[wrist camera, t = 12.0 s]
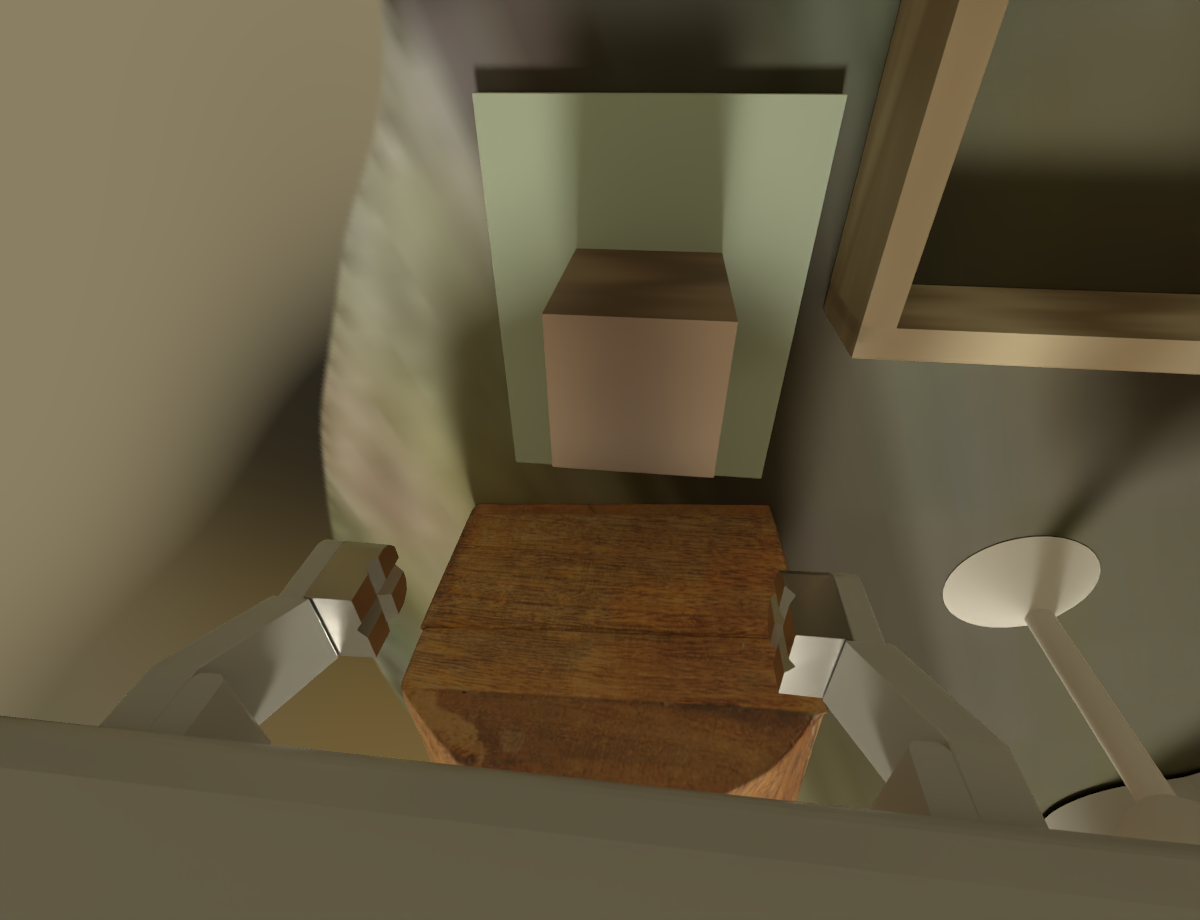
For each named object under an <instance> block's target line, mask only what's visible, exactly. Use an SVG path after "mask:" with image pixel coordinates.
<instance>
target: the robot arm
mask: <svg viewBox="0 0 1200 920" xmlns="http://www.w3.org/2000/svg"><path fill="white" fill-rule="evenodd" d="M398 558H399V557H398V554H397V552H396V549H395V547H394V546H391V545H385V544H374V543H363V542H352V541H337V540H324V541H322V542H320V543H319V544H318V545H317V546H316V547H315V549H314V550H313V551H312V553H311V554H310V555H309V557H308V558H307V559H306V561H305V562H304V563H303V565H302V566H301V567H300V568H299V570H298V571H297V573H296V574H295V575H294V576H293V578H292V579H291V580H290V582H289V583H288V584H287V586H286V587H285V588H284V589H283V591H282V592H281V593H280V595H279V596H271V597H269V598H268V599H266V600H264V601H262V602H261V603H259V604H257V605H255V606H254V607H252V608H250V609H249V610H247V611H245V612H243V613H242V614H240V615H238V616H237V617H235V618H233V619H231V620H230V621H228V622H226V623H225V624H223V625H221V626H219V627H218V628H216V629H214V630H212V631H211V632H209V633H207V634H206V635H204V636H202V637H200V638H199V639H197V640H195V641H193V642H192V643H190V644H188V645H187V646H185V647H183V648H181V649H180V650H178V651H176V652H175V653H173V654H171V655H169V656H168V657H166V658H164V659H163V660H161V661H159V662H157V663H156V664H154V665H152V666H151V668H150V669H149V670H148V671H147V672H146V673H145V674H144V675H143V676H142V678H141V679H140V680H139V681H138V682H137V683H136V684H135V686H134V687H133V688H132V689H131V690H130V691H129V692H128V693H127V695H126V696H125V697H124V698H123V699H122V700H121V701H120V703H119V704H118V705H117V706H116V707H115V708H114V709H113V711H112V712H111V713H110V714H109V715H108V716H107V717H106V719H105V720H104V721H103V722H102V723H101V724H100V725H99V726H92V725H83V724H73V723H65V722H55V721H46V720H37V719H28V718H18V717H10V716H0V920H1200V845H1195V844H1186V843H1176V842H1167V841H1158V840H1148V839H1139V838H1130V837H1121V836H1113V835H1114V833H1115V831H1116V829H1117V827H1118V824H1119V822H1120V820H1121V818H1122V816H1123V815H1124V814H1125V813H1126V812H1127V811H1128V810H1129V809H1130V808H1132V807H1133V806H1134V805H1135V804H1136V801H1135V799H1134V798H1133V796H1132V794H1131V793H1130V791H1129V790H1128V788H1127V786H1123V787H1118V788H1113V789H1109V790H1105V791H1101V792H1098V793H1094V794H1091V795H1088V796H1085V797H1082V798H1080V799H1077V800H1075V801H1072V802H1070V803H1068V804H1066V805H1064V806H1062V807H1060V808H1058V809H1057V810H1055V811H1054V812H1052V813H1051V814H1050V815H1048V816H1047V817H1046V818H1045V819H1044V817H1043V815H1042V813H1041V811H1040V809H1039V807H1038V805H1037V803H1036V801H1035V799H1034V797H1033V795H1032V793H1031V791H1030V789H1029V787H1028V785H1027V783H1026V781H1025V779H1024V777H1023V775H1022V773H1021V771H1020V769H1019V767H1018V765H1017V763H1016V761H1015V759H1014V757H1013V755H1012V753H1011V751H1010V749H1009V747H1008V746H1007V745H1006V744H1005V743H1003V742H1002V741H1001V740H1000V739H999V738H998V737H997V736H996V735H994V734H993V733H992V732H991V731H990V730H989V729H988V728H987V727H985V726H984V725H983V724H982V723H981V722H980V721H979V720H978V719H976V718H975V717H974V716H973V715H972V714H971V713H970V712H969V711H967V710H966V709H965V708H964V707H963V706H962V705H961V704H960V703H958V702H957V701H956V700H955V699H954V698H953V697H952V696H951V695H949V694H948V693H947V692H946V691H945V690H944V689H943V688H942V687H940V686H939V685H938V684H937V683H936V682H935V681H934V680H933V679H931V678H930V677H929V676H928V675H927V674H926V673H925V672H924V671H922V670H921V669H920V668H919V667H918V666H917V665H916V664H915V663H913V662H912V661H911V660H910V659H909V658H908V657H907V656H905V655H904V654H903V653H902V652H901V651H900V650H899V649H898V648H896V647H895V646H894V645H893V644H885V643H884V640H883V637H882V635H881V632H880V629H879V627H878V624H877V621H876V619H875V616H874V613H873V611H872V608H871V605H870V603H869V600H868V597H867V595H866V592H865V589H864V587H863V584H862V581H861V579H860V578H859V577H858V576H857V575H856V574H840V573H830V574H829V573H824V572H806V571H788V570H779V571H778V572H777V574H776V577H775V581H774V585H775V591H776V594H775V595H773V596H772V597H771V598H770V602H769V607H768V620H767V623H768V634H769V641H770V644H771V645H772V646H773V647H774V648H775V649H776V654H775V658H774V661H773V665H774V671H775V676H776V682H777V688H778V693H782V694H791V695H800V696H808V697H817V698H823V701H824V703H825V704H826V705H827V707H828V708H829V709H830V710H831V712H832V713H833V714H834V716H835V717H836V718H837V720H838V721H839V722H840V723H841V725H842V726H843V727H844V729H845V730H846V731H847V733H848V734H849V735H850V736H851V738H852V739H853V740H854V742H855V743H856V744H857V746H858V747H859V748H860V749H861V751H862V752H863V753H864V755H865V756H866V757H867V759H868V760H869V761H870V762H871V764H872V765H873V766H874V768H875V769H876V770H877V772H878V773H879V774H880V775H881V777H882V778H883V779H884V781H885V782H886V784H885V785H884V787H883V789H882V790H881V792H880V793H879V795H878V797H877V798H876V800H875V801H874V803H873V805H872V806H871V808H870V809H861V808H851V807H842V806H833V805H823V804H814V803H805V802H796V801H786V800H777V799H768V798H758V797H749V796H740V795H731V794H721V793H712V792H703V791H694V790H684V789H675V788H666V787H657V786H648V785H638V784H629V783H620V782H611V781H602V780H592V779H583V778H574V777H565V776H556V775H546V774H537V773H528V772H518V771H509V770H500V769H490V768H481V767H472V766H462V765H453V764H444V763H434V762H425V761H415V760H406V759H397V758H388V757H379V756H369V755H360V754H351V753H341V752H332V751H323V750H313V749H304V748H295V747H285V746H277V745H271V741H270V739H269V738H268V737H267V735H266V734H265V733H264V732H263V730H262V729H261V727H260V726H259V725H260V724H261V723H262V722H263V721H264V720H266V719H267V718H268V717H269V716H270V715H271V714H273V713H274V712H275V711H276V710H277V709H278V708H279V707H281V706H282V705H283V704H284V703H286V702H287V701H288V700H289V699H290V698H291V697H293V696H294V695H295V694H296V693H297V692H298V691H300V690H301V689H302V688H303V687H304V686H305V685H307V684H308V683H309V682H310V681H311V680H312V679H314V678H315V677H316V676H317V675H318V674H319V673H321V672H322V671H323V670H324V669H325V668H326V667H328V666H329V665H330V664H331V663H332V662H333V661H335V660H336V659H337V658H338V655H344V656H360V657H361V656H362V657H377V655H378V653H379V651H380V649H381V647H382V645H383V643H384V641H385V639H386V638H387V636H388V634H389V632H390V630H389V626H388V623H387V622H388V621H389V620H391V619H392V618H393V617H395V616H396V615H398V614H399V612H400V610H401V608H402V606H403V604H404V600H405V595H406V590H407V587H406V578H405V575H404V572H403V571H402V570H401V569H400V568H399V567H397V566H396V565H395V563H396V561H397V559H398ZM1166 781H1167V782H1168V783H1169V785H1170V786H1171V788H1172V789H1173V791H1174V792H1175V794H1176V795H1177V797H1181V798H1186V799H1190V800H1194V801H1198V802H1200V773H1197V774H1193V775H1190V776H1187V777H1182V778H1176V779H1170V780H1166Z"/></svg>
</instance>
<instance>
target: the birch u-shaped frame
mask: <svg viewBox="0 0 1200 920" xmlns="http://www.w3.org/2000/svg"><path fill="white" fill-rule="evenodd" d="M1008 2H1009V0H901V4H900V8H899V12H898V16H897V20H896V24H895V28H894V32H893V36H892V39H891V43H890V47H889V51H888V55H887V59H886V63H885V67H884V71H883V75H882V79H881V83H880V87H879V91H878V95H877V99H876V103H875V107H874V111H873V115H872V119H871V123H870V127H869V131H868V135H867V138H866V142H865V146H864V150H863V154H862V158H861V162H860V166H859V170H858V174H857V178H856V182H855V186H854V190H853V194H852V198H851V202H850V206H849V210H848V214H847V218H846V222H845V226H844V230H843V233H842V237H841V241H840V245H839V249H838V253H837V257H836V261H835V265H834V269H833V273H832V277H831V281H830V285H829V289H828V293H827V297H826V301H825V305H824V311H825V313H826V315H827V316H828V318H829V320H830V322H831V323H832V325H833V327H834V328H835V330H836V332H837V334H838V335H839V337H840V339H841V341H842V342H843V344H844V346H845V348H846V349H847V351H848V353H849V354H850V356H851V358H861V359H882V360H903V361H924V362H946V363H967V364H988V365H1009V366H1031V367H1052V368H1073V369H1094V370H1115V371H1137V372H1158V373H1179V374H1200V295H1198V294H1169V293H1140V292H1111V291H1083V290H1054V289H1025V288H996V287H967V286H938V285H912V282H913V279H914V276H915V273H916V270H917V267H918V264H919V261H920V259H921V256H922V253H923V250H924V247H925V244H926V241H927V238H928V235H929V232H930V229H931V227H932V224H933V221H934V218H935V215H936V212H937V209H938V206H939V203H940V200H941V197H942V195H943V192H944V189H945V186H946V183H947V180H948V177H949V174H950V171H951V168H952V165H953V163H954V160H955V157H956V154H957V151H958V148H959V145H960V142H961V139H962V136H963V133H964V131H965V128H966V125H967V122H968V119H969V116H970V113H971V110H972V107H973V104H974V101H975V99H976V96H977V93H978V90H979V87H980V84H981V81H982V78H983V75H984V72H985V69H986V66H987V64H988V61H989V58H990V55H991V52H992V49H993V46H994V43H995V40H996V37H997V34H998V32H999V29H1000V26H1001V23H1002V20H1003V17H1004V14H1005V11H1006V8H1007V5H1008Z"/></svg>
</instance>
